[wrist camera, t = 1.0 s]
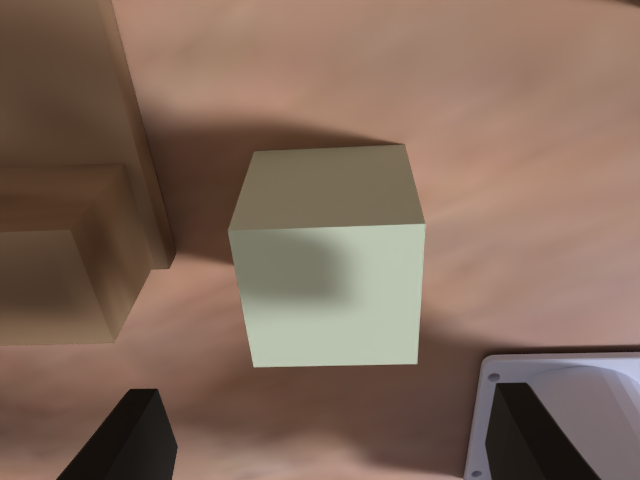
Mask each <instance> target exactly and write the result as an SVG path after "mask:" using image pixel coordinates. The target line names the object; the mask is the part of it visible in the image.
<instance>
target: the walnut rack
mask: <svg viewBox="0 0 640 480" xmlns="http://www.w3.org/2000/svg"><path fill="white" fill-rule="evenodd" d="M175 255H176V249H175V245H174V242H173V238H172V234H171V230H170V226H169V222H168V218H167V215H166V211H165V207H164V203H163V199H162V195H161V192H160V188H159V184H158V180H157V176H156V172H155V168H154V165H153V161H152V157H151V153H150V149H149V145H148V141H147V138H146V134H145V130H144V126H143V122H142V118H141V115H140V111H139V107H138V103H137V99H136V95H135V91H134V88H133V84H132V80H131V76H130V72H129V68H128V64H127V61H126V57H125V53H124V49H123V45H122V41H121V37H120V34H119V30H118V26H117V22H116V18H115V14H114V11H113V7H112V3H111V0H0V346H8V345H55V344H103V343H114V342H115V341H116V339H117V337H118V335H119V333H120V331H121V329H122V327H123V325H124V323H125V321H126V319H127V317H128V315H129V313H130V311H131V309H132V307H133V305H134V303H135V301H136V299H137V297H138V295H139V293H140V291H141V289H142V287H143V285H144V283H145V281H146V279H147V277H148V275H149V273H150V271H151V270H152V269H170V266H171V264H172V262H173V260H174V258H175Z"/></svg>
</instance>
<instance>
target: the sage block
mask: <svg viewBox="0 0 640 480" xmlns="http://www.w3.org/2000/svg"><path fill="white" fill-rule="evenodd" d="M228 236H229V241H230V246H231V251H232V256H233V262H234V267H235V272H236V277H237V283H238V288H239V293H240V298H241V304H242V309H243V314H244V319H245V324H246V330H247V335H248V340H249V345H250V351H251V356H252V361H253V366H254V367H292V366H342V365H392V364H417V359H418V342H419V325H420V308H421V291H422V274H423V257H424V240H425V220H424V216H423V213H422V209H421V205H420V201H419V197H418V193H417V189H416V186H415V182H414V178H413V174H412V170H411V166H410V163H409V159H408V155H407V151H406V147H405V144H404V145H381V146H359V147H337V148H315V149H293V150H270V151H254V153H253V156H252V159H251V162H250V165H249V168H248V171H247V174H246V177H245V180H244V183H243V186H242V189H241V192H240V195H239V198H238V201H237V204H236V207H235V210H234V213H233V216H232V219H231V222H230V225H229V228H228Z"/></svg>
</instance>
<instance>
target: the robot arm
mask: <svg viewBox="0 0 640 480" xmlns="http://www.w3.org/2000/svg"><path fill="white" fill-rule="evenodd" d="M493 373H495V374H493ZM490 374H492V375H490ZM177 448H178V446H177V443H176V440H175V437H174V435H173V432H172V429H171V426H170V423H169V420H168V417H167V414H166V411H165V409H164V406H163V403H162V400H161V397H160V394H159V391H158V389H130V390H129V391H128V392H127V393H126V394H125V395H124V397H123V398H122V399H121V400H120V402H119V403H118V404H117V405H116V407H115V408H114V409H113V411H112V412H111V413H110V414H109V416H108V417H107V418H106V419H105V421H104V422H103V423H102V424H101V426H100V427H99V428H98V429H97V431H96V432H95V433H94V434H93V436H92V437H91V438H90V439H89V441H88V442H87V443H86V444H85V446H84V447H83V448H82V449H81V451H80V452H79V453H78V454H77V455H76V456H75V458H74V459H73V460H72V461H71V462H70V464H69V465H68V466H67V467H66V468H65V470H64V471H63V472H62V473H61V474H60V476H59V477H58V478H57V479H56V480H172V476H173V470H174V465H175V459H176V454H177ZM463 480H640V352H611V353H558V354H505V355H490V356H488V357H486V358H485V359H484V360H483V361H482V364H481V370H480V377H479V383H478V389H477V396H476V402H475V408H474V415H473V421H472V428H471V434H470V440H469V447H468V453H467V459H466V466H465V472H464V478H463Z"/></svg>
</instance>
